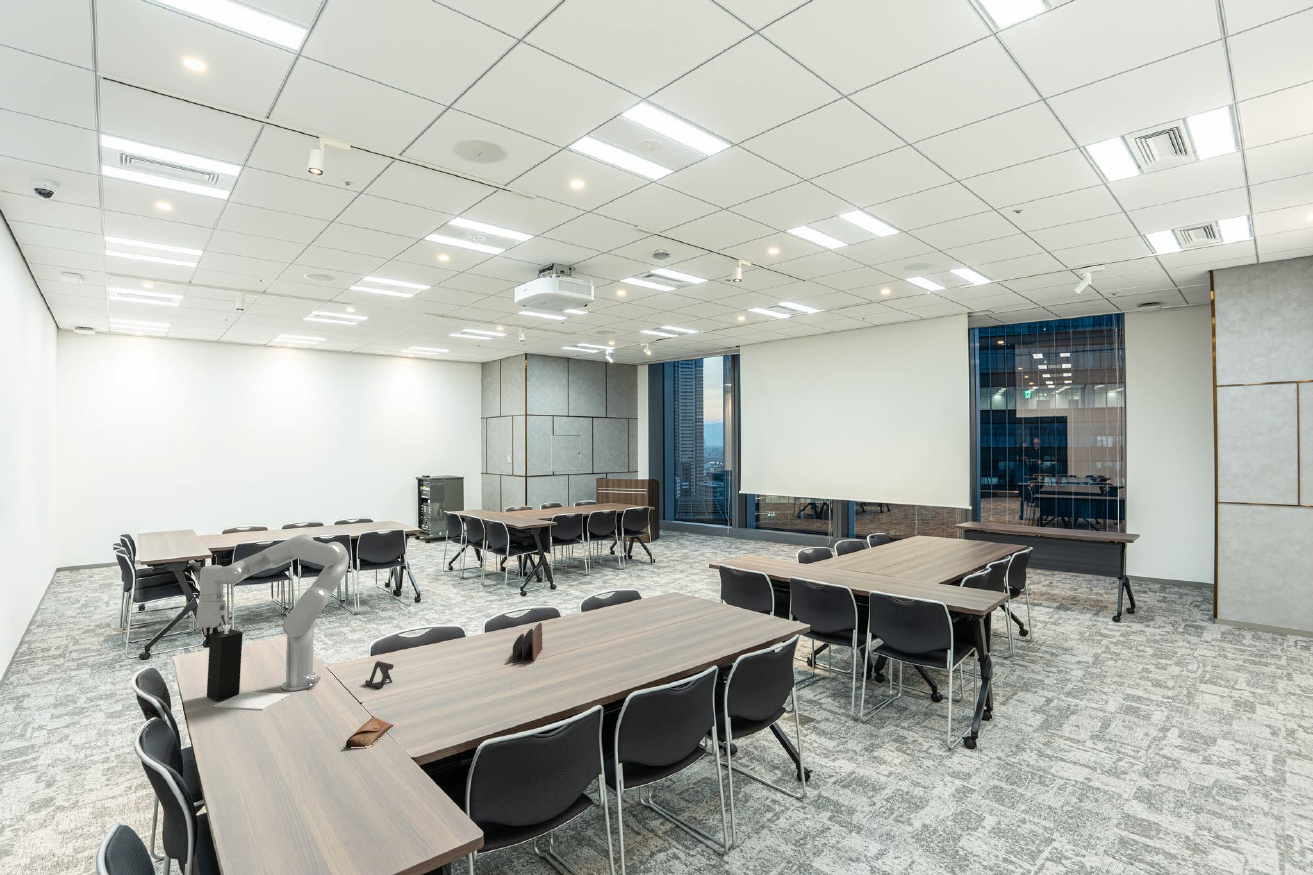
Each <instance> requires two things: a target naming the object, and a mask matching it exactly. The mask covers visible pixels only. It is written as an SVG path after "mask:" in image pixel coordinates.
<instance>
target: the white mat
mask: <svg viewBox="0 0 1313 875" xmlns="http://www.w3.org/2000/svg"><path fill="white" fill-rule="evenodd" d="M290 696H291V693H277V692H258V691H242V692H239V694H238V695H236V696H234V697H231V698H228V699H225V700H222V701H220V702H219V703H218V704H215V705H214V708H225V709H239V710H241V709H242V710H256V711H264V710H266V709H267V708H270V707H272V706H273V705H275V704H277V703H279V702H280V701H281V702H282V699H283V700H285V699H287V698H289V697H290ZM286 697H287V698H286ZM278 701H279V702H278Z"/></svg>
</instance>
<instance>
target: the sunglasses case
mask: <svg viewBox="0 0 1313 875" xmlns="http://www.w3.org/2000/svg"><path fill="white" fill-rule="evenodd" d="M393 727H394V724H392V723H389V722H387V721H384V720H382V719H379V718H378V717H376V716H372V717H371V718H370V719H369V720H367V721H366V722H365V723H364V724H363V725H362V726H361V727H359V728H358V729H357V731H355V732H354V733H353V734H352V735H351V736H350V737H348V739H347V740H346V742H345V747H346V749H347V748H351V747H365V746H369V745H373V743H374V742H375V741H376V740H377V741H378V740H379V739H380V738H381V737H383V735H384V734H385V733H386V732H388V731H389V730H390V729H391V728H393ZM378 738H379V739H378ZM377 741H376V742H377ZM376 742H375V743H376ZM373 746H374V745H373Z"/></svg>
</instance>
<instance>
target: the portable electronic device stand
mask: <svg viewBox="0 0 1313 875" xmlns="http://www.w3.org/2000/svg"><path fill="white" fill-rule="evenodd" d="M378 669H379V671H380V673H381V676H382V678H381V680H380V682H379V683H378V682H374V679H375V678H376V677H375V676H376V674H377V671H378ZM393 669H394V664H391V663H390V662H389V663H388V662H385V661H380V660H376V661H375V664H374V665H373V669H372V672H371V676H370V678H369V680H367V679H366V680H365V682H364V684H365V685H366V686H368V687H373V688H376V689H380V690H381V689H383V688H384V685H385V682H388V681H389V683H393V681H392V677H391V675H390V672H389V671H390V670H393Z"/></svg>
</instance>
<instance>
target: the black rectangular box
mask: <svg viewBox="0 0 1313 875" xmlns="http://www.w3.org/2000/svg"><path fill="white" fill-rule="evenodd" d="M231 626H232V624H225V625H223V629H222V630H219V631H218V632H216V633H211V634H210V636H209V638H210V643H209V646H208V647H209V649H208V666H207V683H206V698H207V699H210V700H212V701H215V702H219V703H220V702H223V701H226V700H228V699H230V698H232V697H234V696H236V695H238V694H240V687H241V669H242V668H241V667H242V649H243V636H244V634H243V633H244V632H243V631H239V630H236V629H233V628H231Z"/></svg>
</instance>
